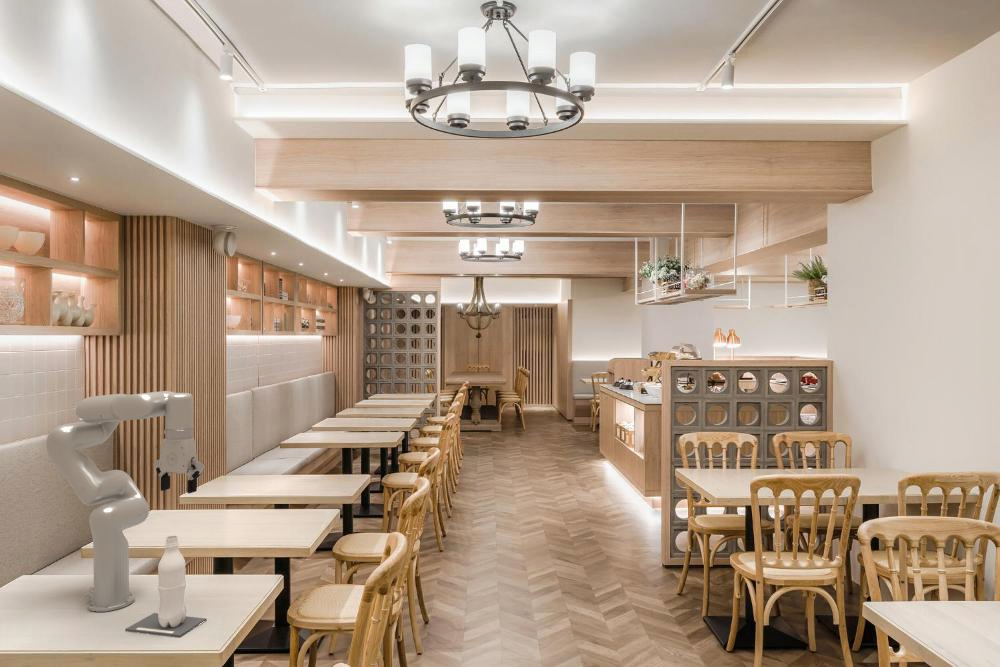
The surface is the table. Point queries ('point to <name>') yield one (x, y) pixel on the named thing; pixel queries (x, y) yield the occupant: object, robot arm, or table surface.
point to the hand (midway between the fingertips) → (178, 491)
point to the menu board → (154, 627)
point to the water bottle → (171, 585)
